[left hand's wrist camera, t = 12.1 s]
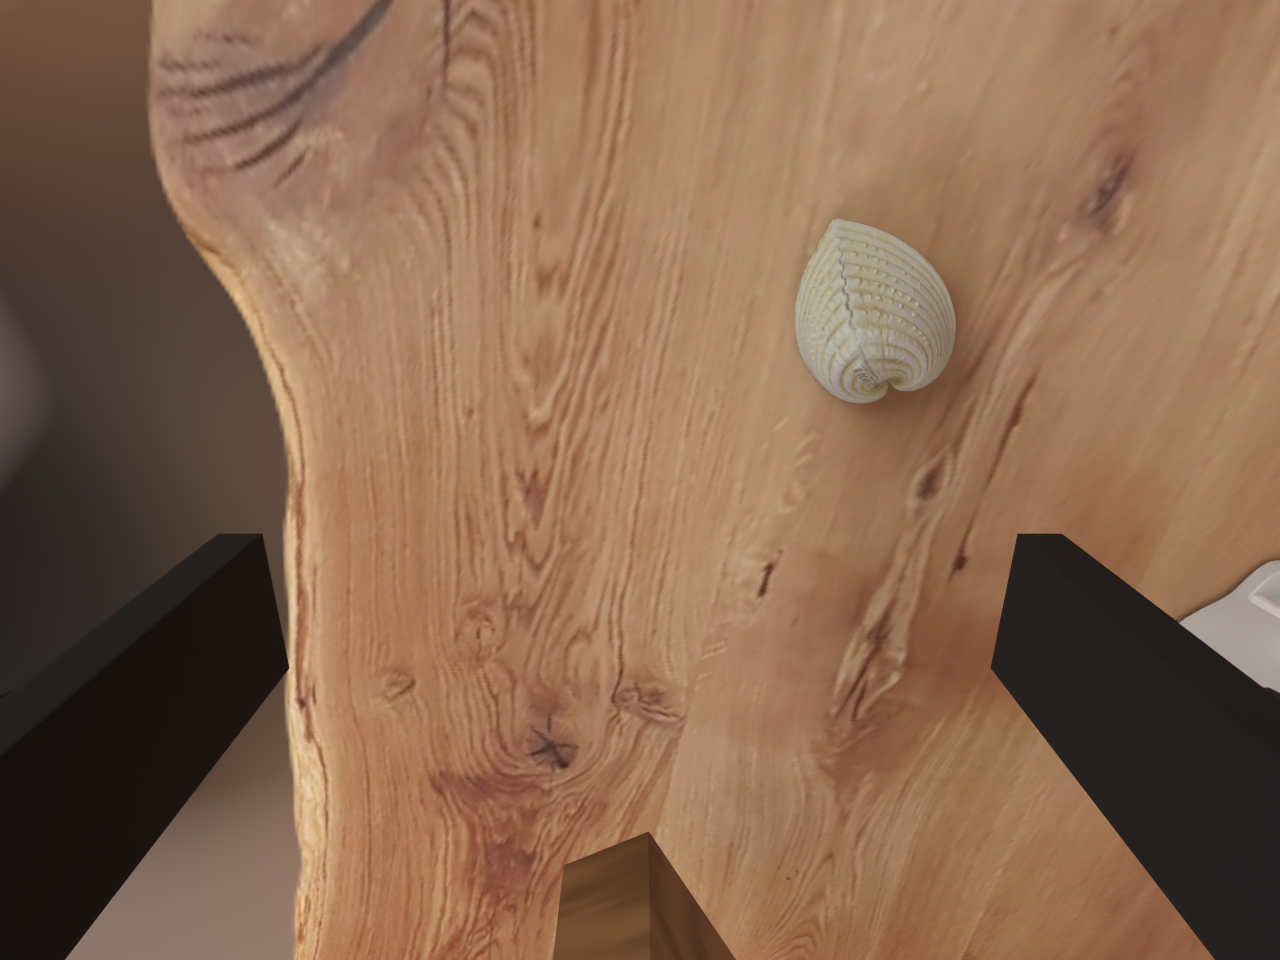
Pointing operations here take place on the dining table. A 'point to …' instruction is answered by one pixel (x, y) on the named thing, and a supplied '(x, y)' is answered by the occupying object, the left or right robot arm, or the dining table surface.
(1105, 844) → the dining table surface
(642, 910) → the bar
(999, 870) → the dining table surface
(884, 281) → the seashell
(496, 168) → the dining table surface
